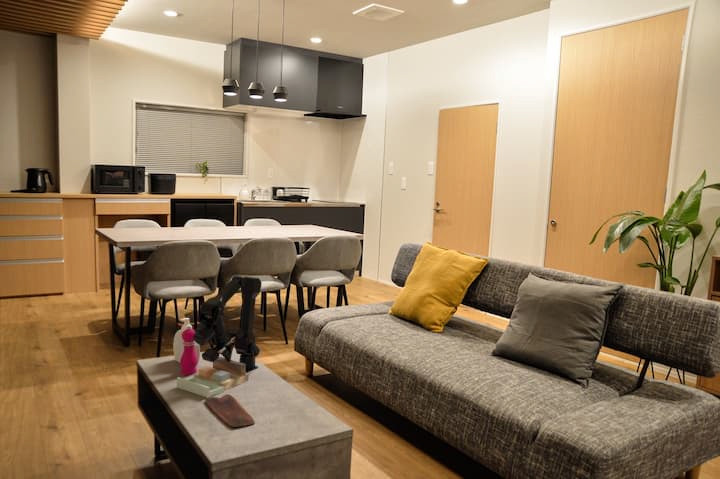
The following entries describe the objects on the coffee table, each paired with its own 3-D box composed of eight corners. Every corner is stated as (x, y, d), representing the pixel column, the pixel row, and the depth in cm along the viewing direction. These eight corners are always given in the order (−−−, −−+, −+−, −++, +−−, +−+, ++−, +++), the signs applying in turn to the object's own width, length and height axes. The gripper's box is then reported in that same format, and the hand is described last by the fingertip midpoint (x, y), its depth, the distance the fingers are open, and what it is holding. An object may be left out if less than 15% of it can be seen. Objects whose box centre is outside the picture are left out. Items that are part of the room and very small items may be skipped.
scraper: (217, 366, 228) (217, 356, 228) (245, 375, 220) (245, 364, 220) (212, 368, 226) (212, 357, 226) (241, 376, 218) (241, 365, 217)
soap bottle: (172, 359, 244) (172, 315, 242) (183, 357, 247) (183, 314, 245) (188, 369, 232) (189, 323, 230) (200, 366, 236) (200, 321, 234)
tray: (193, 381, 219) (193, 371, 218) (223, 391, 210) (223, 381, 209) (176, 387, 212) (177, 377, 211) (207, 398, 203) (207, 387, 203)
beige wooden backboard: (220, 372, 230) (220, 365, 230) (248, 381, 222) (248, 373, 222) (194, 381, 218) (194, 374, 218) (222, 391, 210) (222, 383, 210)
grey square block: (221, 376, 217) (221, 370, 217) (229, 378, 215) (229, 372, 215) (212, 379, 214) (212, 373, 213) (221, 382, 211) (221, 376, 211)
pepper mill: (200, 370, 232) (201, 324, 230) (193, 376, 225) (194, 328, 223) (184, 368, 233) (184, 322, 231) (176, 374, 225) (177, 327, 223)
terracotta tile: (207, 372, 222) (207, 366, 221) (215, 374, 219) (215, 368, 219) (198, 375, 218) (198, 369, 218) (206, 377, 215) (206, 371, 215)
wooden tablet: (257, 419, 183) (228, 422, 178) (256, 426, 183) (228, 429, 178) (230, 392, 205) (203, 394, 200) (229, 398, 205) (203, 400, 200)
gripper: (219, 313, 227) (230, 343, 234) (186, 339, 213) (198, 371, 220) (239, 317, 221) (249, 348, 228) (206, 345, 208) (218, 377, 214)
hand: (229, 360), depth 223 cm, fingers closed, pressing on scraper
